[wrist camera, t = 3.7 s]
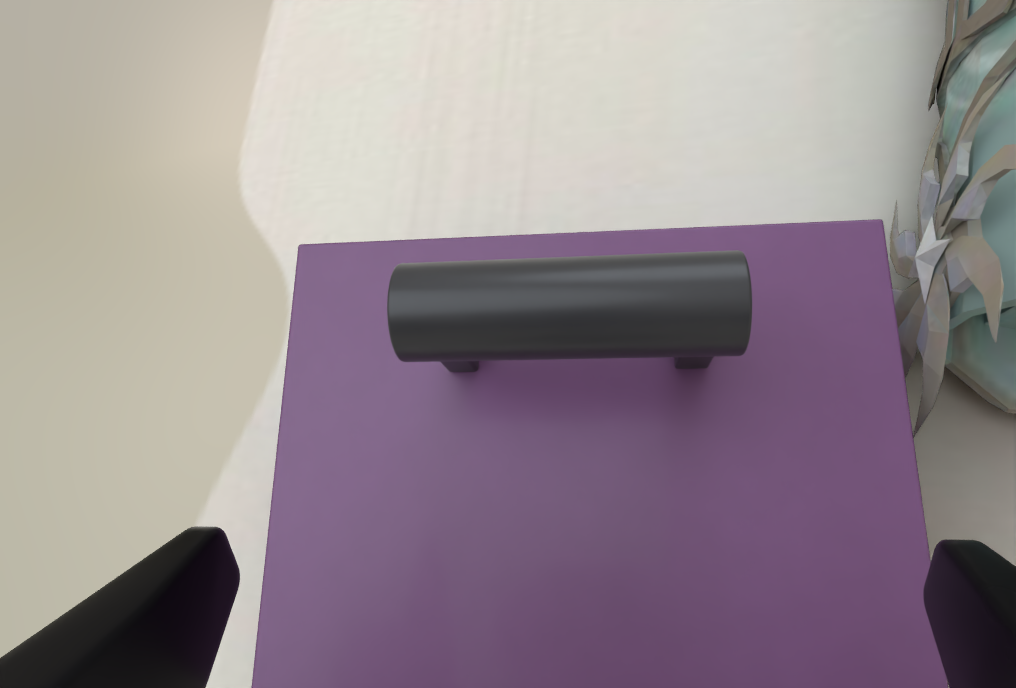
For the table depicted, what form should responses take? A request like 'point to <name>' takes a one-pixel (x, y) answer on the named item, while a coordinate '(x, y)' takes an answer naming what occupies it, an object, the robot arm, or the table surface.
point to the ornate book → (966, 216)
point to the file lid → (597, 466)
